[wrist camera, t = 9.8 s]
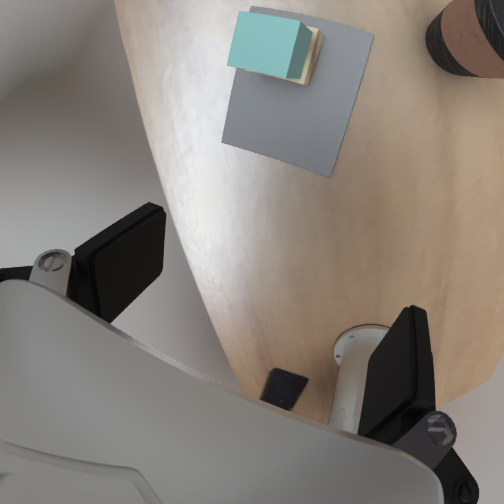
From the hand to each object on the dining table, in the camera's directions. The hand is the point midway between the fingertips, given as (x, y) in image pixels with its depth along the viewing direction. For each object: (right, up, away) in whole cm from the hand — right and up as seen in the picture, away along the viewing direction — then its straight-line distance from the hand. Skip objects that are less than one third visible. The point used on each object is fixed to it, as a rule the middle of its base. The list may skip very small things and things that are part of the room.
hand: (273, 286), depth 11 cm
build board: (+4, +20, +21) cm, 29 cm away
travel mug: (+21, +24, +11) cm, 34 cm away
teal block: (+2, +20, +14) cm, 25 cm away
